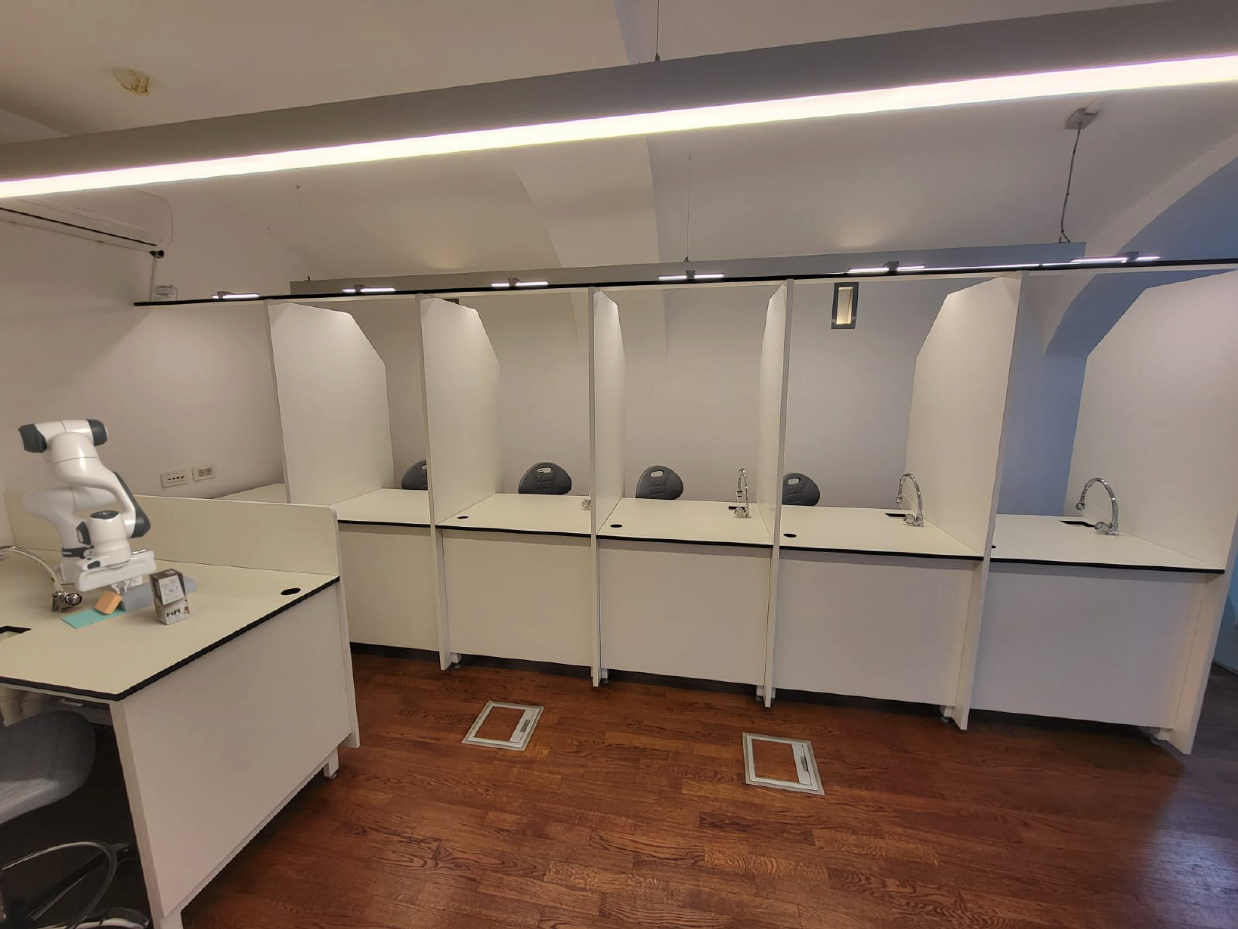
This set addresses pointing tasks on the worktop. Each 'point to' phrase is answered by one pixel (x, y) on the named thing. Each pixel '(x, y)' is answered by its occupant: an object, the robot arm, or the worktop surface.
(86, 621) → the mat
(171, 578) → the coffee box
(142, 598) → the gray block
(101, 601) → the orange block
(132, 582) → the white cup
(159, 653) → the worktop surface
